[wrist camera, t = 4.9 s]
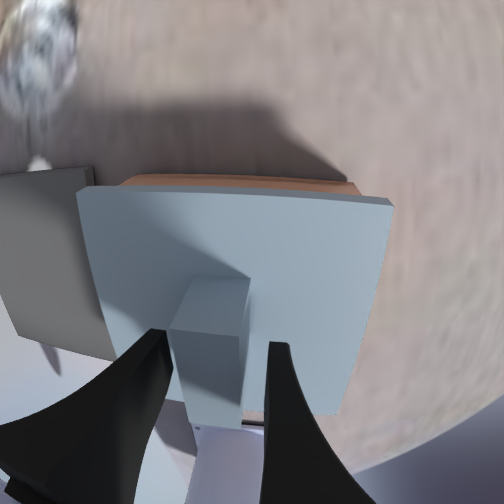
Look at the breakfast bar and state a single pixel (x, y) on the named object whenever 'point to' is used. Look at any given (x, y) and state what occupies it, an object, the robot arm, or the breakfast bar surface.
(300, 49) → the breakfast bar surface
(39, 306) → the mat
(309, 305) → the lid
